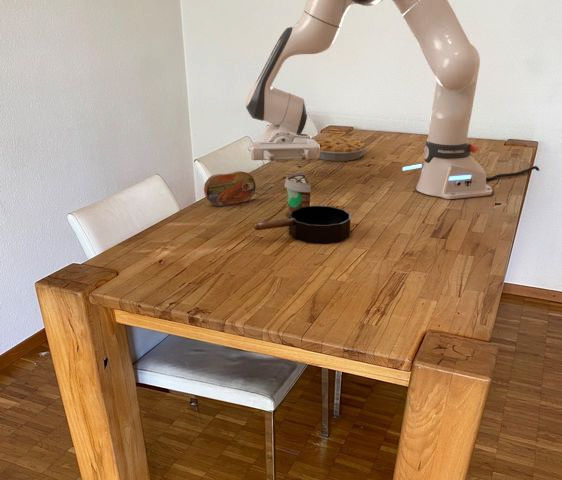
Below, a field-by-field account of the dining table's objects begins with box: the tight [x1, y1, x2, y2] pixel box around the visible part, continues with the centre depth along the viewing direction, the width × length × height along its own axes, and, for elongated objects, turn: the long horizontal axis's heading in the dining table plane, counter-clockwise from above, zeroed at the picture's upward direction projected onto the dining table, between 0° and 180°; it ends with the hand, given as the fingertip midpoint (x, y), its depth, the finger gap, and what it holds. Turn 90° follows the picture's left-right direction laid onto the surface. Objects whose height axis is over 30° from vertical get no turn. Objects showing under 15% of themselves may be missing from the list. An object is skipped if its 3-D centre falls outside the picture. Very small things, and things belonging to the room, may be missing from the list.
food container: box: [284, 171, 312, 217], centre depth 155 cm, size 12×6×10 cm, turn 5°
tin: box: [203, 170, 257, 207], centre depth 164 cm, size 15×3×8 cm, turn 117°
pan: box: [253, 205, 352, 245], centre depth 144 cm, size 25×15×5 cm, turn 112°
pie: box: [314, 136, 368, 162], centre depth 213 cm, size 22×22×5 cm
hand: (288, 157), depth 163 cm, fingers open, 8 cm apart
